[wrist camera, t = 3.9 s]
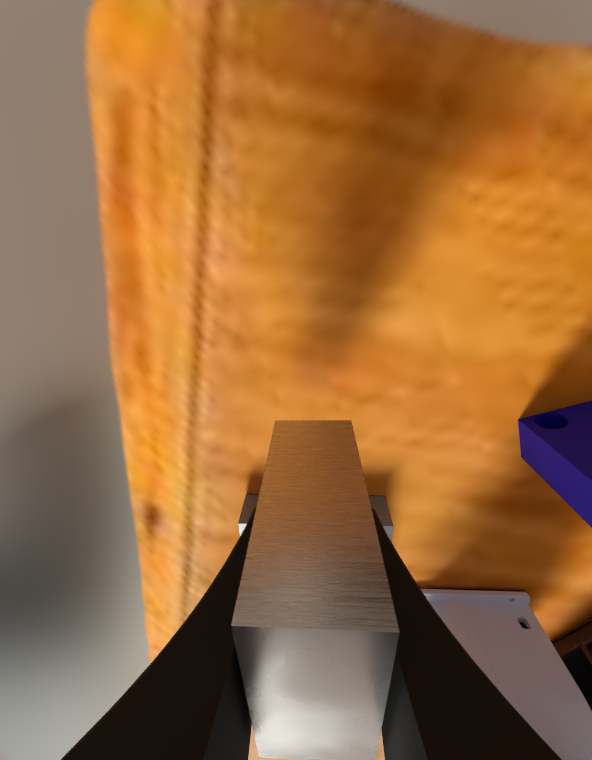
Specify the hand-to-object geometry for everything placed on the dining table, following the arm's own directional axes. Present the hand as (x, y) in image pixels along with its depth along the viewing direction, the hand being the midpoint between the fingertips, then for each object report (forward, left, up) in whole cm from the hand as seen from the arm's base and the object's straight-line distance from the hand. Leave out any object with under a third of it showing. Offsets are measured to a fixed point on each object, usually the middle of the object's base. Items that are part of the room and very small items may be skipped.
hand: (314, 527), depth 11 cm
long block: (0, 0, -2) cm, 2 cm away
